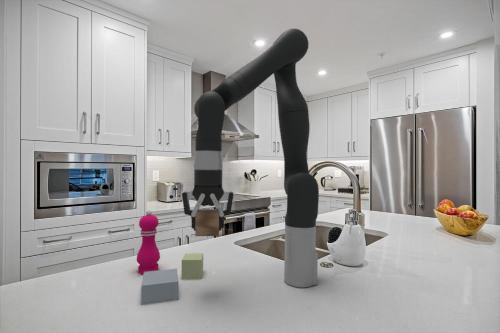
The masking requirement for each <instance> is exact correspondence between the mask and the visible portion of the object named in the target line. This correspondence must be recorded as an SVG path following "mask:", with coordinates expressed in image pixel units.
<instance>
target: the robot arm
mask: <svg viewBox="0 0 500 333" xmlns="http://www.w3.org/2000/svg"><path fill="white" fill-rule="evenodd" d="M309 45H310V44H309V40H308V36H307V35H306V34H305V32H304V31H302V30H301V29H299V28H290V29H286V30H285V31H283V32H282V33H280V35H279V36H278V38H276V40H275V41H274V42H273V43H272V45H271V46H270V47H269V48H267V49H266V50H265V51H264V52H263V53H261V54H260V55H258V56H257V57H255V58H254V59H253V60H251V61H250V62H248V63H247V64H245V65H244V66H242V67H241V68H239V69H238V70H236V71H235V72H233V73H231V74H230V75H229V76H228V77H227V78H225V79H224V80H223V81H222V82H221V83H220V84H219V85H218V86H216V87H215V88H214V89H212V90H209V91H205V92H204V93H202V94H201V95H200V96H199V97H198V99H197V100H196V101H195V104H194V107H193V109H194V110H193V111H194V114H195V116H196V118H197V121H198V122H197V126H198V127H197V129H196V130H197V131H196V132H195V148H194V149H195V151H194V153H195V154H194V162H193V168H194V169H193V170H194V171H193V172H194V174H193V175H194V177H193V190H192V191H191V190H190V191H184V192H182V194H181V198H182V205H183V206H182V207H183V213H184V215H186V216H187V215H188V216H190V217H191V229H193V231H194V232H195V216H196V212H198V210H199V209H201V207H206V206H209V207H215V209H217V211H218V212H219V215H220V216H219V232H220V231H222V229H224V228H225V217H226V216H228V215H230V214H231V212H232V206H233V201H234V200H233V199H234V192H233V191H225V190H224V188H223V153H222V148H223V146H222V145H223V143H222V142H223V140H222V133H223V128H224V120H225V114H226V113H225V112H226V111H227V110H228V109H229V108H230V107H232V106H233V105H235V104H237V103H239V102H240V101H242V100H243V99H244V98H246V97H247V96H248V95H250V94H251V93H253V92H254V91H255V90H256V89H257V88H259V86H261V85H262V84H263V83H264V82H265V81H266V80H267V79H268V78H270V77H271V76H272V75H273V77H274V82H275V91H276V92H275V93H276V102H277V103H276V104H277V115H278V116H277V117H278V127H279V134H280V141H281V142H280V143H281V148H282V154H283V158H284V159H283V163H284V164H283V165H284V166H283V167H284V168H283V169H284V170H283V172H284V175H283V176H284V177H283V178H284V179H283V187H284V192H285V194H286V213H285V216H284V268H283V269H284V271H283V272H284V273H283V277H284V278H283V280H284V282H285V283H286V284H287V285H289V286H292V287H295V288H301V289H303V288H310V287H314V286H317V285H318V263H319V261H318V258H319V257H318V256H319V255H318V254H319V253H318V251H317V250H316V238H317V237H316V232H317V228H316V227H317V226H316V224H317V219H318V216H319V202H320V200H319V199H320V198H319V196H320V194H319V192H320V190H319V189H320V188H319V184H318V180H317V179H316V178H315V176H314V175H312V174H310V170H309V165H308V164H309V163H308V146H309V140H310V130H311V129H310V125H311V124H310V116H309V106H308V103H307V101H306V99H305V97H304V95H303V92H301V90H300V88H299V86H298V83H297V74H296V73H297V71H296V65H297V63H298V62H300V61H301V60H302V59H303V58H304V57H305V55H306V54H307V52H308V50H309ZM192 196H193V198H194V200H196V204H195V205H194V208H193V210H192V209H191V206H190V200H191V198H192ZM223 196H224V197H225V199H226V200H227V203H226V204H227V205H226V209H223V207H222V205H221V202H220V200H221V199H222V198H223Z"/></svg>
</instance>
